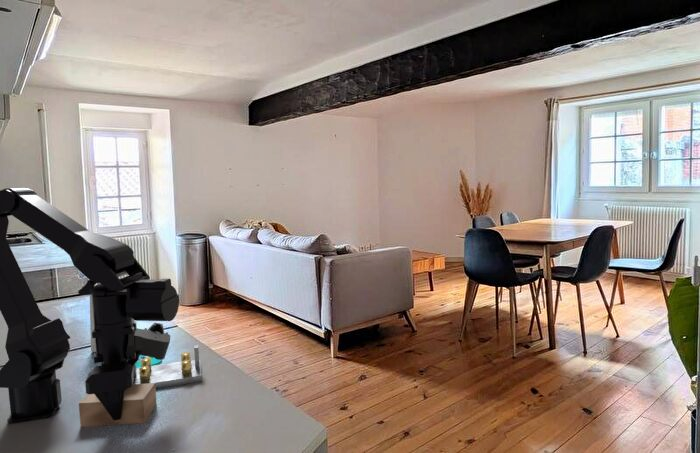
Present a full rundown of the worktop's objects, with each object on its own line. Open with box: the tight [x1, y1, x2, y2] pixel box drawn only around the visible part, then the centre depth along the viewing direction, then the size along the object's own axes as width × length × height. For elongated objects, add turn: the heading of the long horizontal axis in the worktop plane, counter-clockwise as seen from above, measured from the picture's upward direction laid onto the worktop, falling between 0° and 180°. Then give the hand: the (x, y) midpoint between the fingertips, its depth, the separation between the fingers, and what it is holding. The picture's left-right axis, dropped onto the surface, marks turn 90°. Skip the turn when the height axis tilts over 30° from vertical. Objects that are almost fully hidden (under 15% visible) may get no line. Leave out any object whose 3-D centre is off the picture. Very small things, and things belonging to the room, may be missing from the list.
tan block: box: [78, 383, 157, 428], centre depth 77 cm, size 10×6×4 cm, turn 95°
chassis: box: [133, 344, 203, 389], centre depth 92 cm, size 13×9×6 cm
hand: (120, 409), depth 77 cm, fingers closed on tan block, 7 cm apart
